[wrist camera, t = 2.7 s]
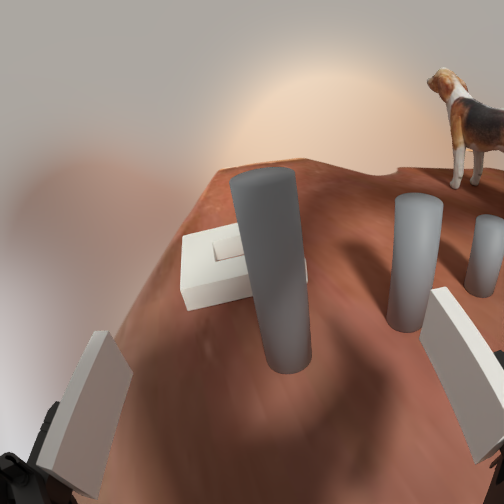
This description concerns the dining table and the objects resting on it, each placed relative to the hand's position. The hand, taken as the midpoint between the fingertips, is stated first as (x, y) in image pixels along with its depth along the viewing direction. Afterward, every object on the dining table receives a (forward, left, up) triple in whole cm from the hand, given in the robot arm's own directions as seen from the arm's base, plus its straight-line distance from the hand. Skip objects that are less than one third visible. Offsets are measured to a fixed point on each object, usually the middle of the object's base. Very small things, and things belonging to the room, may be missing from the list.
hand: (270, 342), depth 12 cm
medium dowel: (-14, -10, -12) cm, 21 cm away
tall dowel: (-2, -10, -12) cm, 16 cm away
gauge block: (0, -27, -12) cm, 29 cm away
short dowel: (-25, -10, -12) cm, 30 cm away
